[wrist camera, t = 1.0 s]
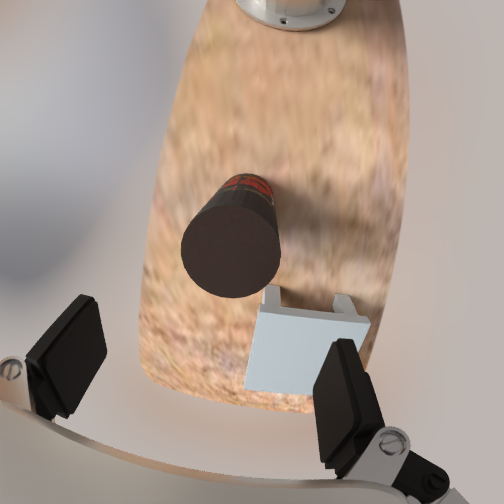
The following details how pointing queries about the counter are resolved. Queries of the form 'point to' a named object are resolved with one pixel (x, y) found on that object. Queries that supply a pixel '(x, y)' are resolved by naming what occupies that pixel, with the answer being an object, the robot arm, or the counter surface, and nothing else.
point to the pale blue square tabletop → (297, 342)
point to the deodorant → (234, 239)
